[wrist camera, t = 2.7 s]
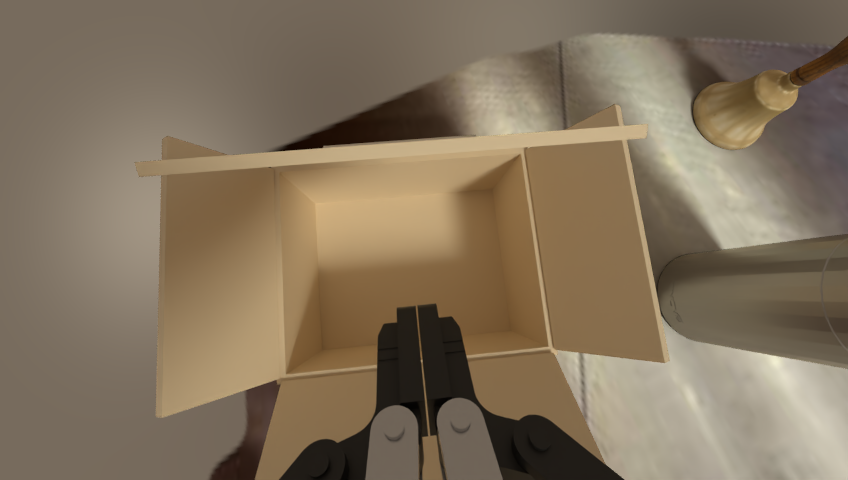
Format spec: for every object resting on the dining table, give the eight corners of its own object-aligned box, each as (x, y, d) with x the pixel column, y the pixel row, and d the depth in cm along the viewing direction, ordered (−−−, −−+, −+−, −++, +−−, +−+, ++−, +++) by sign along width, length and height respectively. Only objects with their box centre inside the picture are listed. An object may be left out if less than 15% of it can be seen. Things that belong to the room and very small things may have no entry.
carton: (529, 182, 36) (671, 51, 16) (567, 437, 32) (810, 671, 13) (275, 203, 35) (93, 89, 15) (283, 470, 31) (53, 790, 11)
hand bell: (776, 125, 38) (1030, 9, 23) (725, 163, 37) (953, 71, 22) (728, 71, 39) (941, -77, 23) (677, 107, 38) (863, -21, 22)
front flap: (518, 140, 26) (518, 132, 26) (646, 137, 12) (648, 121, 12) (279, 158, 25) (277, 150, 25) (138, 177, 12) (133, 159, 11)
